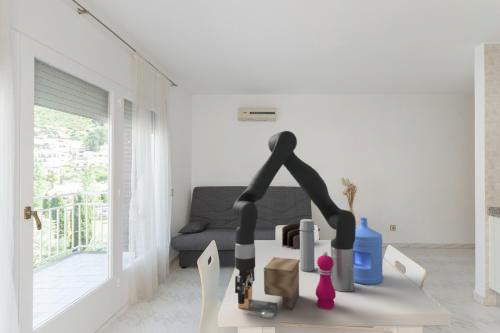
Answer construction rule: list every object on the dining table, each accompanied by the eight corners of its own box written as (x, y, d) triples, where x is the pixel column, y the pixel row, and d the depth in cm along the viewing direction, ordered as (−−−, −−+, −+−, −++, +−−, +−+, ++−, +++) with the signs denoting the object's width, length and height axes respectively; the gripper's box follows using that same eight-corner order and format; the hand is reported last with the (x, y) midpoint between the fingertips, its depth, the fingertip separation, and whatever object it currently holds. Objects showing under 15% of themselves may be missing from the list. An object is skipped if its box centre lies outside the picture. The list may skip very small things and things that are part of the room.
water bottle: (315, 272, 151) (314, 221, 151) (299, 271, 152) (298, 221, 153) (315, 266, 160) (314, 218, 160) (299, 266, 161) (299, 218, 162)
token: (273, 312, 109) (273, 308, 109) (275, 319, 104) (275, 314, 104) (259, 312, 109) (259, 308, 109) (260, 319, 104) (260, 315, 104)
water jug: (365, 271, 151) (365, 214, 152) (390, 282, 137) (390, 219, 137) (339, 275, 146) (338, 216, 146) (362, 287, 131) (362, 221, 132)
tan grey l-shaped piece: (277, 308, 112) (277, 289, 112) (274, 313, 108) (274, 293, 108) (242, 303, 116) (242, 284, 116) (238, 307, 113) (238, 288, 113)
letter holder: (281, 247, 203) (281, 225, 203) (299, 242, 217) (299, 221, 217) (293, 249, 196) (293, 227, 196) (311, 244, 209) (311, 223, 210)
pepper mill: (332, 301, 118) (331, 248, 118) (338, 309, 110) (337, 253, 111) (313, 301, 117) (313, 249, 118) (318, 310, 110) (317, 254, 110)
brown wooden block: (300, 295, 123) (299, 259, 124) (292, 311, 110) (292, 270, 110) (274, 292, 127) (273, 257, 127) (263, 306, 113) (263, 267, 113)
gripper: (248, 261, 106) (248, 308, 106) (260, 251, 120) (260, 293, 119) (228, 259, 109) (228, 305, 108) (242, 249, 122) (242, 290, 122)
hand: (245, 298), depth 114 cm, fingers open, 8 cm apart
